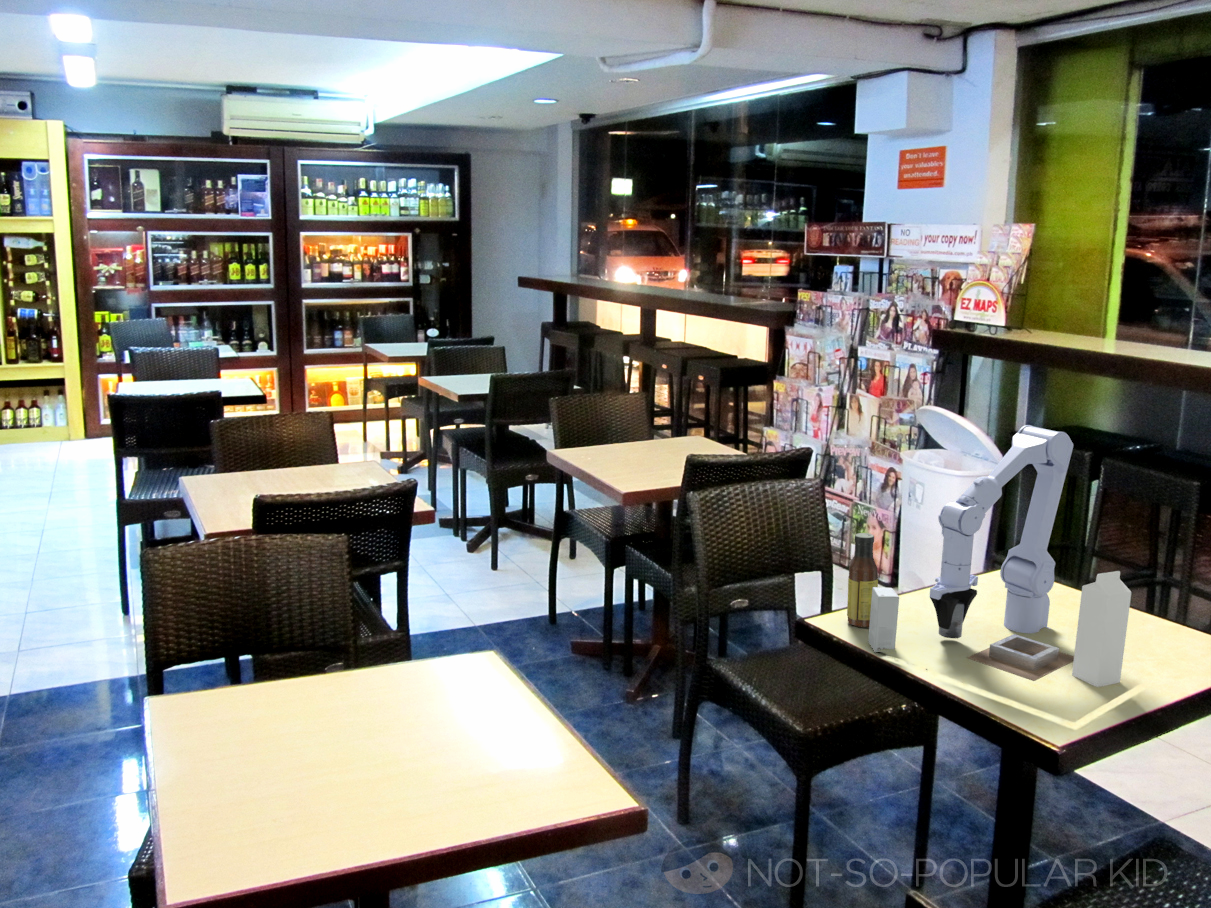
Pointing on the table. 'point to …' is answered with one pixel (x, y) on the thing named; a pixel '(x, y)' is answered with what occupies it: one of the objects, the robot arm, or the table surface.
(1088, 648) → the milk
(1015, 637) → the square metal frame
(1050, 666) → the walnut base plate
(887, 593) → the skincare box
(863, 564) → the sauce bottle
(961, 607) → the cylinder
